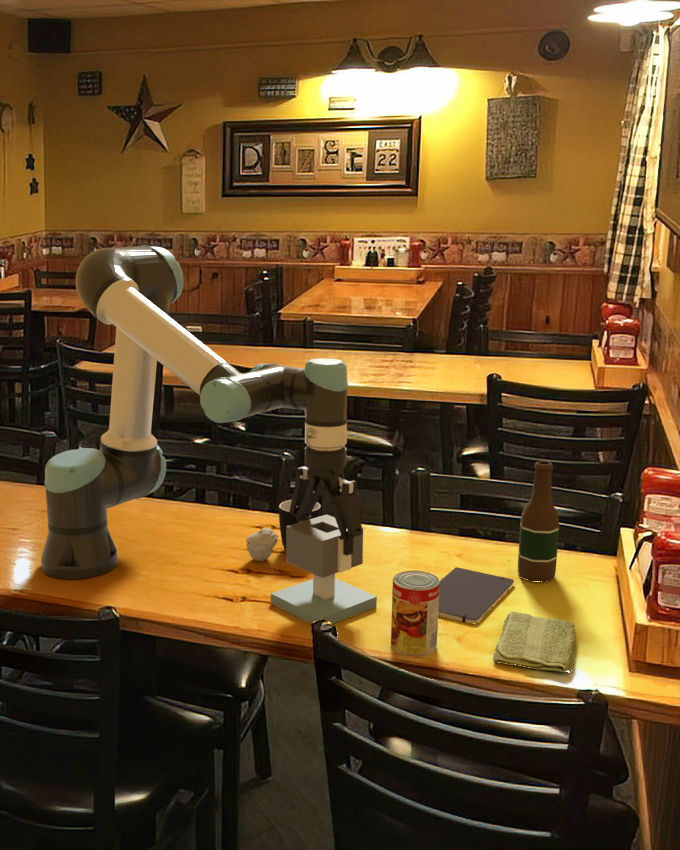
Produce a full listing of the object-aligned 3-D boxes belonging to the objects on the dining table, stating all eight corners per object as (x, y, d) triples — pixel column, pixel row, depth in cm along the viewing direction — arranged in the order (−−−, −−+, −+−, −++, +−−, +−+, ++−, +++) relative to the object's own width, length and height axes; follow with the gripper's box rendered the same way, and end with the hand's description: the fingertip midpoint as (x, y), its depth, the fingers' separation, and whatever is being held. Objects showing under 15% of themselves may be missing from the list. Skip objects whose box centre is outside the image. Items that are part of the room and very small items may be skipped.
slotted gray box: (286, 561, 172) (286, 526, 170) (326, 548, 179) (326, 514, 177) (322, 577, 165) (322, 540, 163) (362, 563, 172) (363, 528, 170)
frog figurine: (274, 567, 191) (274, 535, 190) (241, 564, 193) (241, 532, 191) (281, 556, 197) (281, 525, 196) (249, 553, 198) (249, 522, 197)
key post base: (270, 603, 174) (270, 568, 173) (326, 583, 184) (326, 550, 182) (320, 628, 164) (321, 591, 163) (376, 606, 174) (377, 571, 172)
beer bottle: (559, 572, 191) (567, 460, 185) (550, 586, 184) (559, 470, 178) (521, 565, 194) (529, 455, 188) (512, 579, 187) (519, 464, 182)
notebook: (455, 574, 191) (411, 612, 173) (455, 566, 190) (412, 604, 172) (515, 586, 185) (476, 628, 167) (515, 579, 184) (476, 620, 166)
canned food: (396, 631, 164) (398, 568, 161) (440, 638, 162) (443, 573, 159) (385, 651, 156) (387, 585, 154) (431, 658, 154) (434, 591, 151)
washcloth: (490, 668, 152) (491, 650, 152) (505, 622, 169) (506, 606, 168) (572, 681, 149) (573, 662, 148) (579, 633, 165) (580, 617, 164)
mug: (314, 559, 196) (314, 514, 193) (273, 555, 198) (273, 510, 195) (328, 540, 207) (328, 496, 205) (289, 536, 209) (289, 493, 207)
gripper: (269, 436, 172) (270, 549, 177) (354, 462, 156) (351, 585, 161) (300, 430, 177) (300, 540, 182) (385, 454, 161) (382, 574, 166)
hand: (324, 561), depth 172 cm, fingers closed on slotted gray box, 10 cm apart
